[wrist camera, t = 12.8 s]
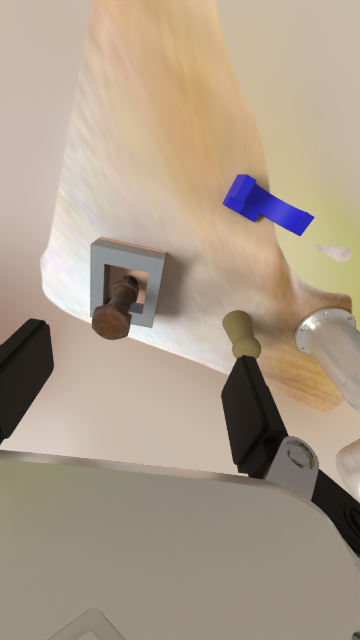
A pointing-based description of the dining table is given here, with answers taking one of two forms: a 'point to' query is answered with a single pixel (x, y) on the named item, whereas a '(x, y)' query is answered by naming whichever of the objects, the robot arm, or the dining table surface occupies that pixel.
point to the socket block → (121, 261)
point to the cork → (241, 334)
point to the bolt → (116, 310)
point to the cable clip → (264, 205)
